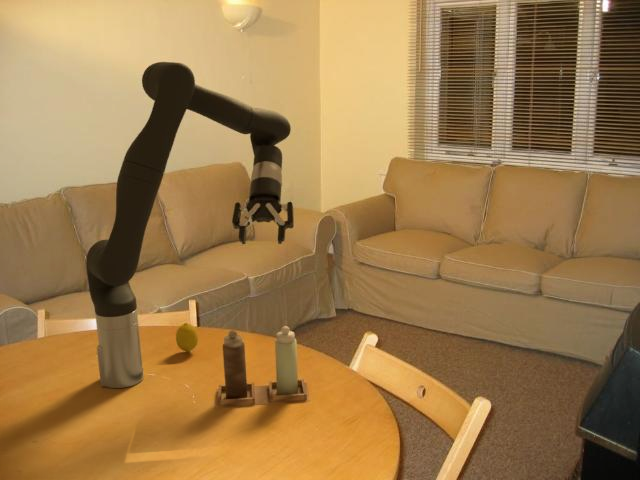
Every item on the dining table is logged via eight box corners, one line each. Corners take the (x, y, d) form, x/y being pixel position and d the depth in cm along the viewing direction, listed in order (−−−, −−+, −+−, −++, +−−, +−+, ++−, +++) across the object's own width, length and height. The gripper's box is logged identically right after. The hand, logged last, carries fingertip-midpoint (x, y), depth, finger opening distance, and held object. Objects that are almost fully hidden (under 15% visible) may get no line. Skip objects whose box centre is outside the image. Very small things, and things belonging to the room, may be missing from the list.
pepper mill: (225, 402, 154) (221, 335, 151) (226, 392, 159) (221, 327, 155) (247, 400, 155) (243, 333, 151) (247, 391, 159) (243, 325, 156)
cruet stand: (215, 413, 152) (214, 402, 152) (216, 394, 161) (216, 384, 161) (310, 405, 154) (309, 395, 154) (306, 387, 163) (306, 377, 162)
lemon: (201, 348, 187) (199, 319, 185) (196, 357, 182) (193, 326, 180) (180, 348, 187) (178, 318, 185) (174, 356, 182) (172, 326, 180)
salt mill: (277, 398, 156) (274, 330, 152) (276, 388, 160) (274, 323, 156) (298, 396, 156) (296, 329, 152) (297, 387, 161) (295, 322, 157)
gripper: (234, 176, 173) (228, 234, 165) (293, 175, 172) (290, 233, 164) (239, 194, 180) (233, 250, 172) (296, 193, 179) (293, 250, 171)
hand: (261, 242), depth 168 cm, fingers open, 8 cm apart
